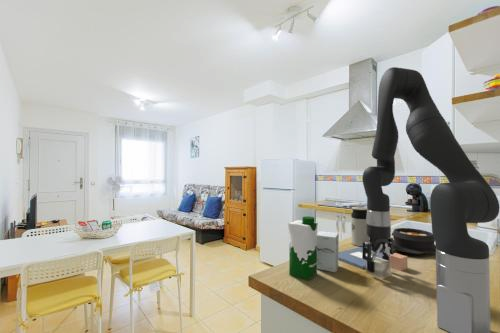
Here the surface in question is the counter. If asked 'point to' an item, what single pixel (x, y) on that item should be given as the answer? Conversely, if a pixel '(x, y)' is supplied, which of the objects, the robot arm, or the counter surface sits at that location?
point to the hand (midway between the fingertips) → (378, 269)
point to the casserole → (413, 241)
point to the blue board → (355, 257)
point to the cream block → (381, 268)
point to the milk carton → (303, 248)
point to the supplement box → (327, 251)
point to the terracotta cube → (398, 261)
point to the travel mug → (359, 226)
